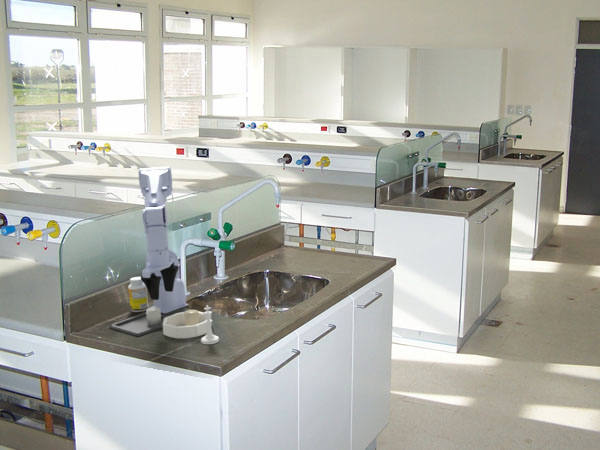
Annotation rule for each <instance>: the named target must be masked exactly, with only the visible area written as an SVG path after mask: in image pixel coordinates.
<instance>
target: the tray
mask: <svg viewBox="0 0 600 450" xmlns="http://www.w3.org/2000/svg"><path fill="white" fill-rule="evenodd" d="M166 317H168V316H166V315H163V314H161V321H162V324H159V325H157V326H154V327H150V326H148V324H147V314H146V312H145V311H144V312H143V313H139V314H137V315H134V316H132V317H129V318H126V319H123V320H121V321H117V322H113V323H111V324H109V328H110V329H112V330H115V331H118V332H122V333H125V334H128V335H132V336H135V337H141V336H144V335H147V334H149V333H151V332H154V331H156V330H158V329H159V330H160V329H163V321H164V318H166Z"/></svg>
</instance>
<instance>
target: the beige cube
mask: <svg viewBox="0 0 600 450" xmlns="http://www.w3.org/2000/svg"><path fill="white" fill-rule="evenodd" d="M198 311H199V310H197V309H188V310H185V311H183V312H184V319H185V326H191V325H196V324H199V314H198Z"/></svg>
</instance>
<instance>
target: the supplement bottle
mask: <svg viewBox="0 0 600 450" xmlns="http://www.w3.org/2000/svg"><path fill="white" fill-rule="evenodd" d="M129 283H130V284H129V285H128V287H127V289H128V300H129V299H130V300H129V307H130V306H131V309H130V311H131V312H133V313H138V312H139V313H140V312H145V311H146V309H148V308H150V305H149V297H148V296H149V295H148V289H147V287H146V285H145V284H144V282H143V281H142V280H141V276H135V277H131V278H130V279H129Z"/></svg>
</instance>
